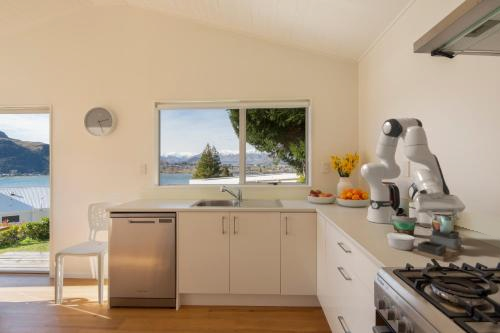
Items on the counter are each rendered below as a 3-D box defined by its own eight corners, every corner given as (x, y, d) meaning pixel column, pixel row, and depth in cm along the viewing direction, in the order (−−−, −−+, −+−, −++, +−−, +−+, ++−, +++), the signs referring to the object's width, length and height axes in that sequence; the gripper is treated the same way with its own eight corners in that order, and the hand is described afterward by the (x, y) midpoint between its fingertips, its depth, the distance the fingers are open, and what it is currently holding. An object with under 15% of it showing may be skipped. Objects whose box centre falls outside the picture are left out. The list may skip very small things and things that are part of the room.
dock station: (435, 243, 123) (435, 227, 123) (463, 250, 114) (464, 232, 114) (412, 253, 110) (413, 234, 110) (442, 261, 101) (443, 241, 101)
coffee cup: (426, 238, 132) (427, 215, 132) (439, 236, 135) (440, 214, 134) (445, 244, 123) (445, 219, 123) (458, 242, 126) (459, 218, 125)
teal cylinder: (442, 234, 119) (442, 215, 119) (452, 236, 115) (452, 216, 115) (438, 235, 117) (438, 216, 116) (448, 237, 113) (449, 217, 113)
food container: (393, 235, 137) (393, 216, 137) (391, 232, 143) (391, 214, 143) (420, 237, 133) (420, 218, 133) (416, 234, 139) (416, 216, 139)
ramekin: (414, 245, 121) (414, 234, 120) (415, 253, 111) (415, 241, 111) (387, 241, 126) (387, 231, 126) (386, 248, 117) (386, 237, 116)
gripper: (453, 198, 127) (467, 222, 117) (409, 199, 129) (420, 223, 120) (459, 190, 122) (474, 215, 113) (413, 191, 125) (425, 215, 115)
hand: (446, 219), depth 116 cm, fingers open, 8 cm apart
